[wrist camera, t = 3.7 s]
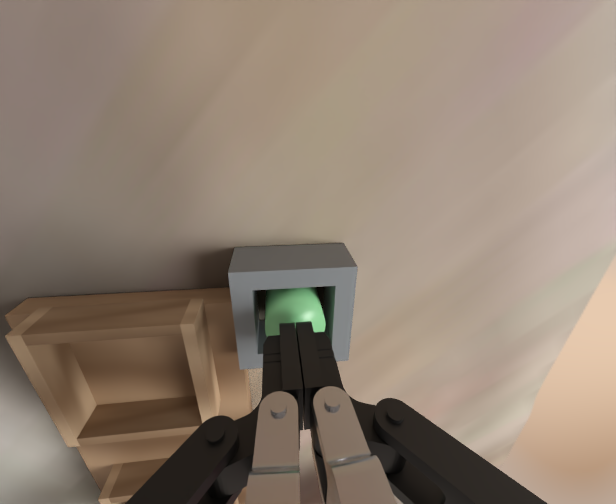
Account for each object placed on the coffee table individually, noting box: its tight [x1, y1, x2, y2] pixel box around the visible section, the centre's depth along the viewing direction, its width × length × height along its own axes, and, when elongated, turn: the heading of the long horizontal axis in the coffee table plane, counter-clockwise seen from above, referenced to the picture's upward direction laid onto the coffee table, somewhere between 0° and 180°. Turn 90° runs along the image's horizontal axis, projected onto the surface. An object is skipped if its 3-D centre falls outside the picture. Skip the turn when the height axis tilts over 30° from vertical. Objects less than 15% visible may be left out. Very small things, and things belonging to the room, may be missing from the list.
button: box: [265, 287, 326, 337], centre depth 15 cm, size 3×3×3 cm
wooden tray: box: [5, 287, 252, 504], centre depth 19 cm, size 21×11×4 cm, turn 179°
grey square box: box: [228, 243, 357, 370], centre depth 16 cm, size 6×6×3 cm
